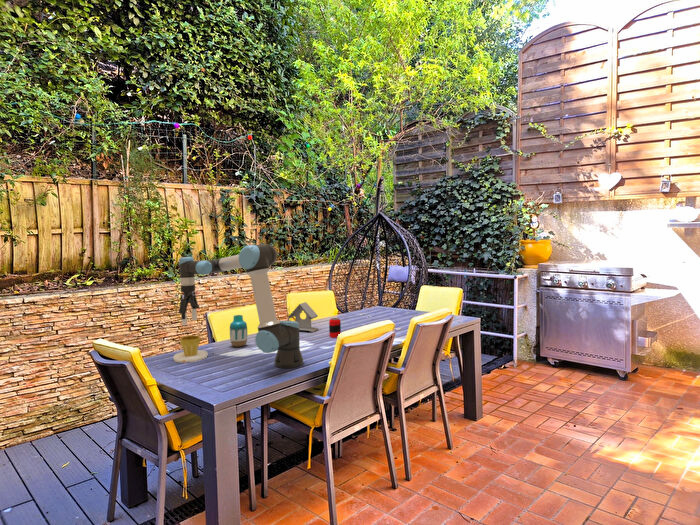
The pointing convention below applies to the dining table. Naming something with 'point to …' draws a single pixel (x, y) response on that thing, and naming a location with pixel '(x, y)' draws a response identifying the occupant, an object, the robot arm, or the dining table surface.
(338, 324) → the soda can
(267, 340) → the robot arm
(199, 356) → the base
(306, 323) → the wooden nesting box
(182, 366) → the dining table surface
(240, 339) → the vase
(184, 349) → the plant pot
